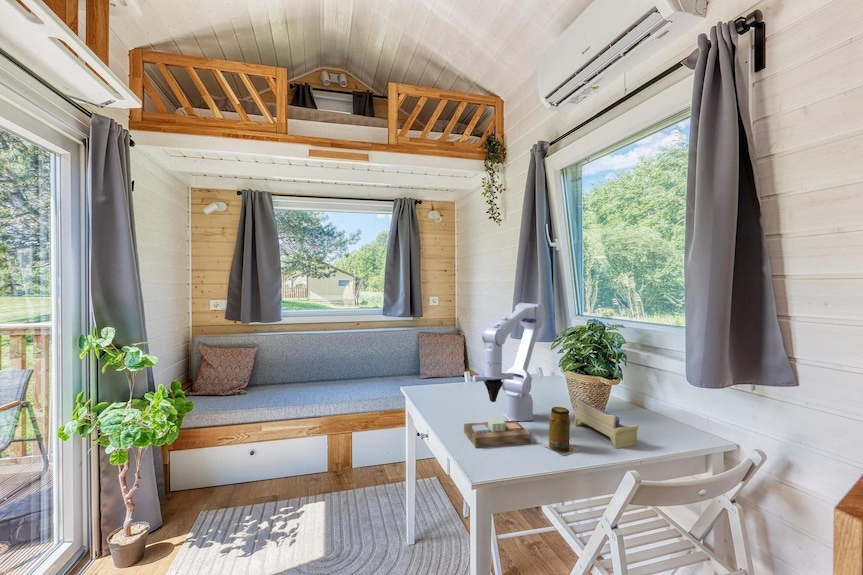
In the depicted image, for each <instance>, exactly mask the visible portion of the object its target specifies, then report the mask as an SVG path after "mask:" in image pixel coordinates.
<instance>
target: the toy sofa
mask: <svg viewBox="0 0 863 575" xmlns="http://www.w3.org/2000/svg"><path fill="white" fill-rule="evenodd" d="M575 404H576V406H575V407H574V408H573V411H574V426H575V427H579V426H580V427H581V426H589V427H591V428H592V429H594V430H596V431H598V432H599V433H602V434H604V435H605V436H607V437H608V438H609V439H610V441H611V443H612V444H613V449H620V448H621V449H622V448H630V447H634V446H637V441H638V440H637V437H638V436H637V435H638V434H637V433H638V432H637V431H638V430H639V425H638V424H632V425H631V424H630V425H626V426H625V425H623V424H620V421H621V420H620V418H619V416H617V415H615V414H612V413H609V412H607V411H605V410H603V409H600V408H598V407H596V406H595V405H593V404H589V403H588V402H586V401H584V400H583V399H581V398H576V400H575Z"/></svg>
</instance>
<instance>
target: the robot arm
mask: <svg viewBox="0 0 863 575" xmlns="http://www.w3.org/2000/svg"><path fill="white" fill-rule="evenodd" d="M545 317H546V310H545V307H544V304H542V303H529V302H528V303H527V302H519V303H517V304H516V305H515V309H514V311H513V312H511V314H510V315H509V316H502V317H501V319H500V320H498V321H497V322H496V323H495V324H493V326H491V327H490V326H489V327H486V328H485V329H484V330H483V332H482V335H481V339H482V342H483V347H484V349H485V355H484V357H485V358H484V359H485V361H484V373H480V374H474V375H472V382H473V383H479V382H483V383H484V385H485V387H486V389H487V393H488V397H489V401H490V402H491V403H495V402H496V403H497V397H498V395H499V392H500V390H501V389H502V390H503V391H504V392H503V393H504V394H505V412H502V413H501V415H502V416H503V417H504V418H505V419H506V421H511V420H515V421H516V422H524V421H525V422H526V421H534V418H533V416H534V414H533V410H534V406H533V405H534V400H533V398H532V395H531V393H530V392H531V390H532V381H533V380H532V379H533V376H532V375H531V374H530V372H529V371H528V368H529V364H530V361H531V357H532V355H533V350H534V348H535V344H536V341H537V336H538V333H539V329H541V328H542V327H543V323H544V320H545ZM518 323H519V324H520V326H521V327H523V328H524V329H523V330H524V331H523V333H522V337H521V341H520V343H519V346H518V350H517V353H516V356H515V361H514V364H513V365H512V366H511V367H510V368H508V369H507V370H506V371H505V372H502V371H503V370H502V369H503V345H504V344H505V342H506V340H507V338H508V336H509V335H510V334H511V333H512V332H513V331H514V330H515V328H516V325H517V324H518Z"/></svg>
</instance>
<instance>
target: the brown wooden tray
mask: <svg viewBox="0 0 863 575" xmlns="http://www.w3.org/2000/svg"><path fill="white" fill-rule="evenodd" d="M503 421H504V422H505V423H516V424H518V425H519V426H520V427H521V430H514V431H508V430H507V429H505V431H501V432H491V431H490V429H489V428H488V421H485V422H484V421H483V422H470V423H469V422H468V423H464V424H463V433H464V434H465V437H466V438H468V440H469V441H470V442H471V444H472V445H473V447H474V448H475V449H478V448H487V447H500V446H501V447H502V446H513V445H525V444H531V442H532V441H531V438H532V437H531V436H532V435H531V433H530V432H529V431H528V430H527V429H526V428H524V426H523V425H521V424H520V423H519V422H518V421H515V420H511V421H509V420H503ZM474 425H485V426H486V427H487V428H488V429H489V432H487V433H475V432H474V431H473V430H472V426H474Z"/></svg>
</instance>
